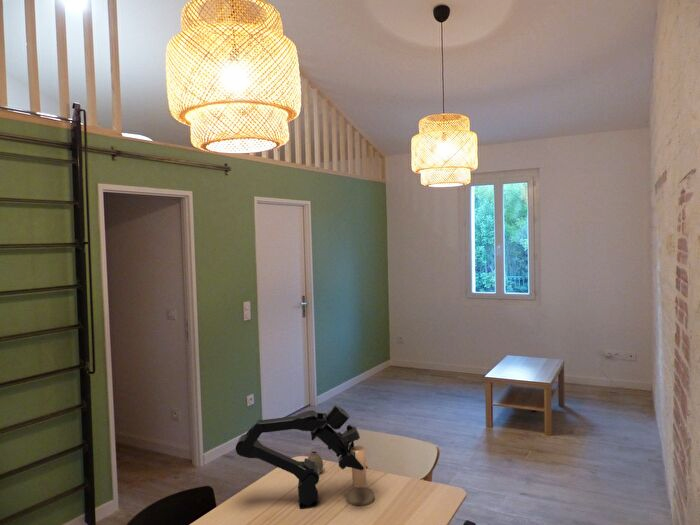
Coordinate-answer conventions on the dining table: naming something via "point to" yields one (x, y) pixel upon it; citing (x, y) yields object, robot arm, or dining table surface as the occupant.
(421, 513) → the dining table surface
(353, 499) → the stand
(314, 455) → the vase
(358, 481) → the tan tapered cylinder
